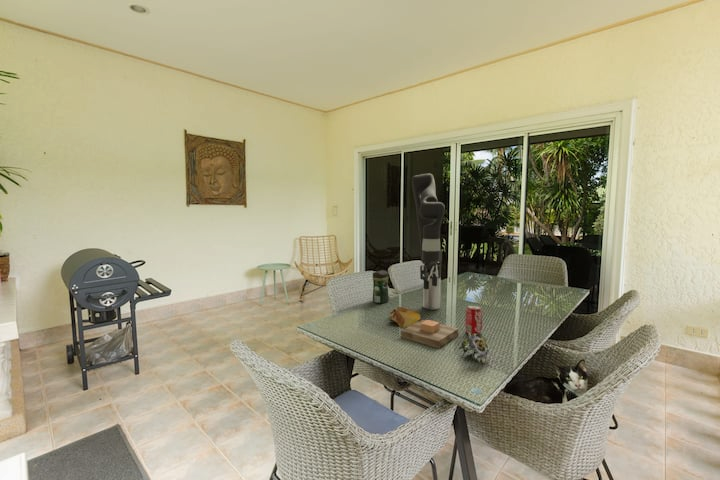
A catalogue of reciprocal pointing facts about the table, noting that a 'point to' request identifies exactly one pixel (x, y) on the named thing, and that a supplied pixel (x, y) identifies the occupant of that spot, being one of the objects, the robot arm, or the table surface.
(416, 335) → the button plate
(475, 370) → the table surface
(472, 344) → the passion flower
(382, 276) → the coffee jar
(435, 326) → the push button
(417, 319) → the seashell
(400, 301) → the table surface
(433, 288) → the robot arm
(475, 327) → the soda can
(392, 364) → the table surface
